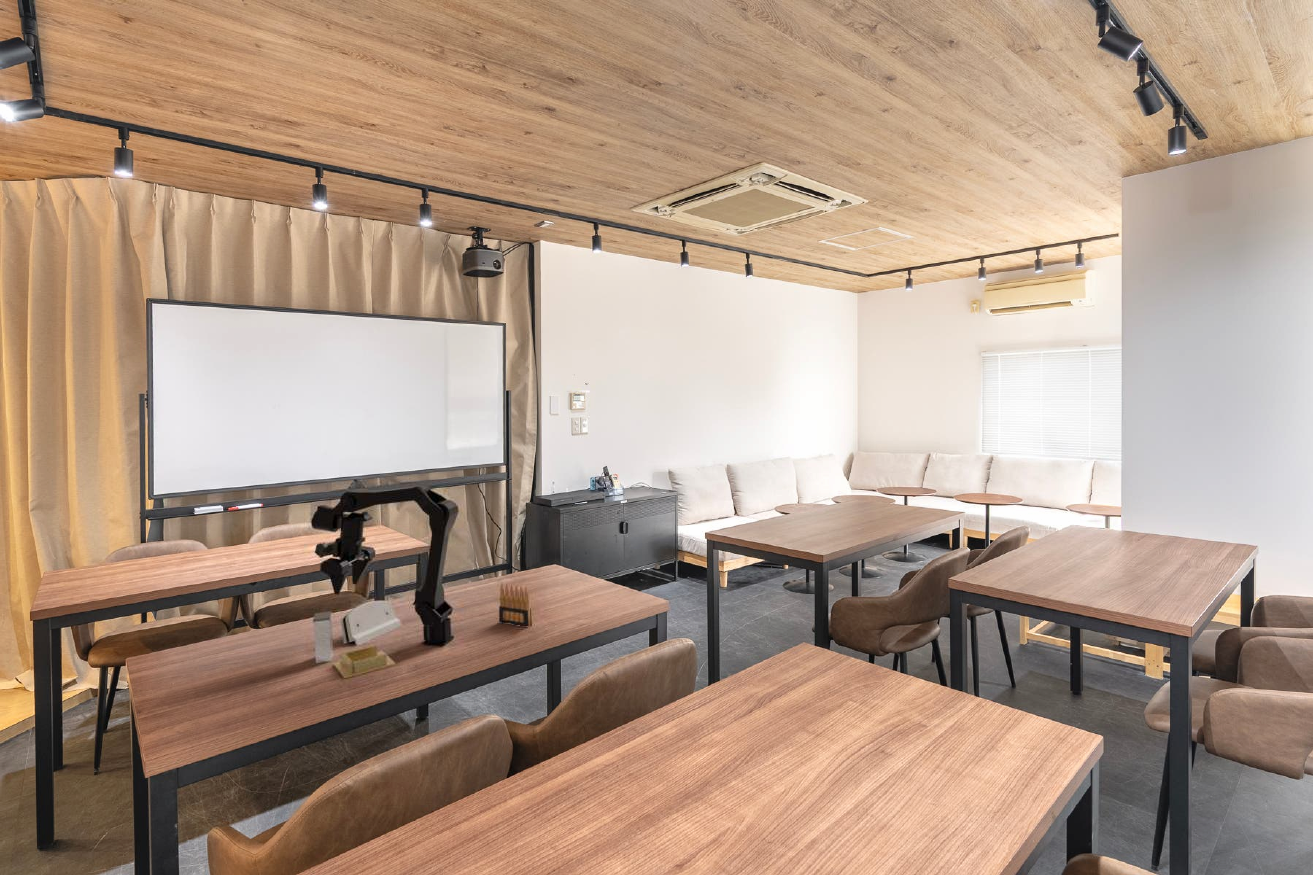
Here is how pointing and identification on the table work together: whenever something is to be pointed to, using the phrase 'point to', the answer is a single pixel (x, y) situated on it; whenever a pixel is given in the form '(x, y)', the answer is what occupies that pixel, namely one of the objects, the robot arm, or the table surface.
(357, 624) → the white rounded housing
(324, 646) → the bar
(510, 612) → the ammunition clip
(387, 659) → the strike pocket
